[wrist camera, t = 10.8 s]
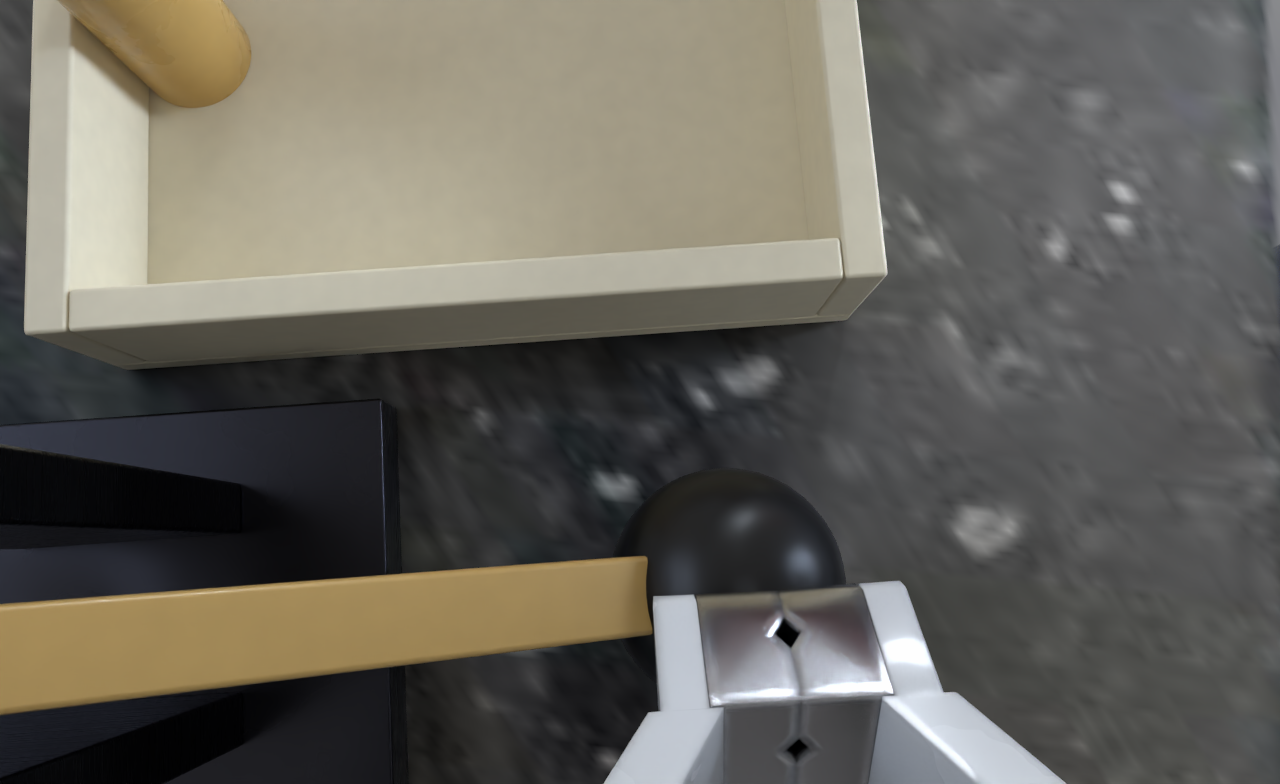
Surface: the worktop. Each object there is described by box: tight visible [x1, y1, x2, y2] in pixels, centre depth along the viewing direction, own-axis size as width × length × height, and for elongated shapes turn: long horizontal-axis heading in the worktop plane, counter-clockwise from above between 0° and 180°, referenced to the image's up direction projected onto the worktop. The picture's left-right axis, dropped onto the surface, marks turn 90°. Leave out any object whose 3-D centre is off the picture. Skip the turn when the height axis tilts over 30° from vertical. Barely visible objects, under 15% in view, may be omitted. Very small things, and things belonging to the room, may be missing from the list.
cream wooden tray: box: [24, 0, 888, 370], centre depth 21 cm, size 16×14×4 cm
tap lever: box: [0, 468, 846, 715], centre depth 12 cm, size 16×4×4 cm, turn 95°
